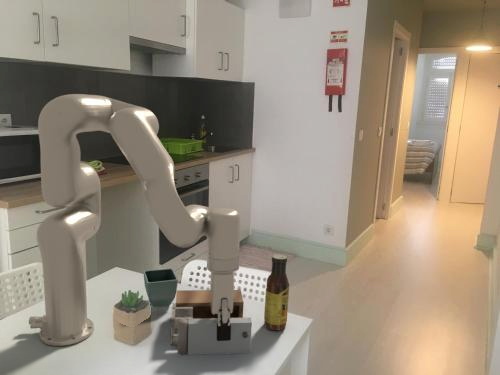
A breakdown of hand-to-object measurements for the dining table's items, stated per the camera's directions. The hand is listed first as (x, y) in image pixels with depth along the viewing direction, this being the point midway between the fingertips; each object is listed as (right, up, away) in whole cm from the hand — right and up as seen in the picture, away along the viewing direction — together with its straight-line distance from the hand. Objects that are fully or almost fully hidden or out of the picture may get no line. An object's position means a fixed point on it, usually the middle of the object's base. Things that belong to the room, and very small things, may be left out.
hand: (222, 328), depth 100 cm
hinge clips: (-11, -4, +7) cm, 13 cm away
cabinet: (-5, -3, +15) cm, 16 cm away
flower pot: (-20, -1, +23) cm, 31 cm away
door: (-2, -6, +1) cm, 6 cm away
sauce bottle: (+14, -4, +14) cm, 20 cm away
